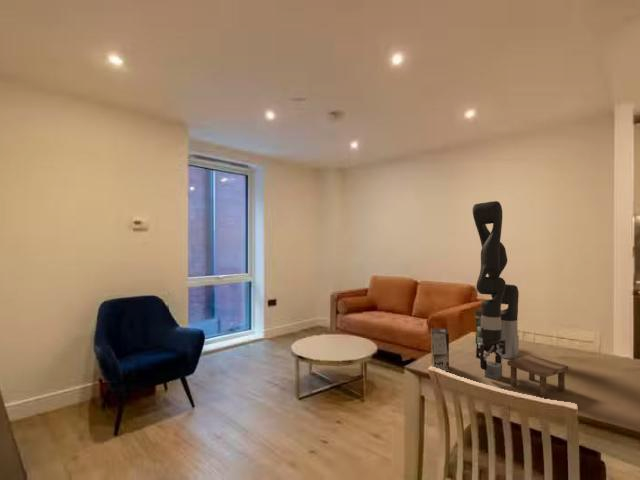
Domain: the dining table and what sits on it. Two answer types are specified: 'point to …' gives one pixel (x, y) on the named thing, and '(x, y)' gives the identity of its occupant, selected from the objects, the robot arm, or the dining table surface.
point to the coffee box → (440, 348)
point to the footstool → (538, 371)
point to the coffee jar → (478, 326)
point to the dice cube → (493, 370)
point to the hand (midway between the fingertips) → (491, 367)
